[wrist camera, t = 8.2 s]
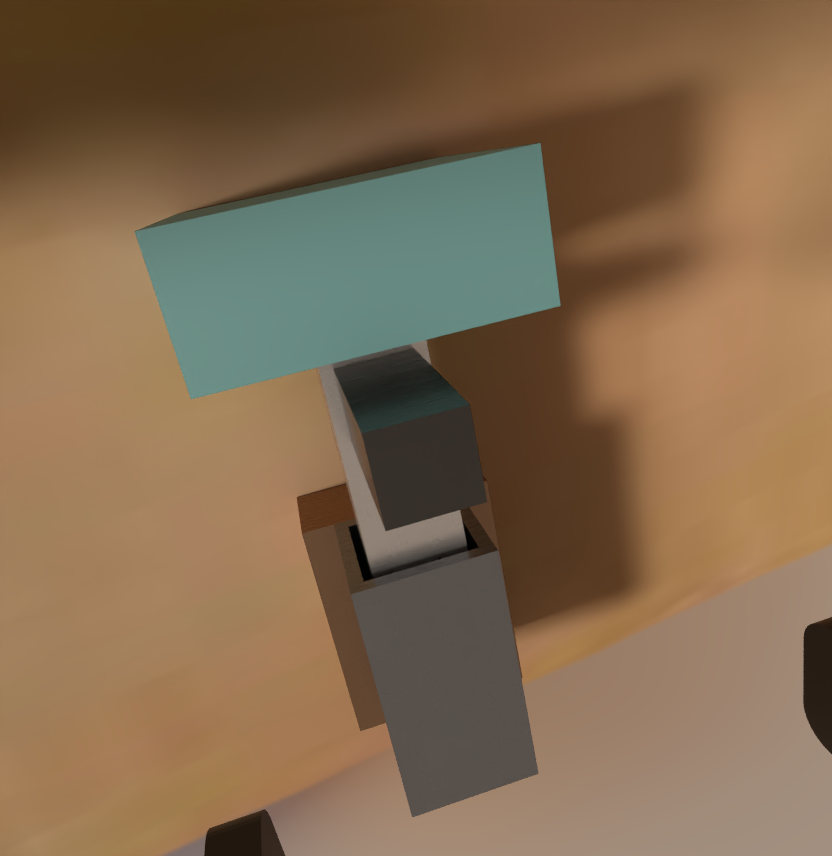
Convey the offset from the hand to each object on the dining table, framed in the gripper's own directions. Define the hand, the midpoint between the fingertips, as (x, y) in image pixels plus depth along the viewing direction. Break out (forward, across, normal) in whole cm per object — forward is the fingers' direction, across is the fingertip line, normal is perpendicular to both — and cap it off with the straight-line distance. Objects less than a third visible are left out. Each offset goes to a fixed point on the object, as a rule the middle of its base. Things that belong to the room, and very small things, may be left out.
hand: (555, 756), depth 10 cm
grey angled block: (+21, -1, +2) cm, 21 cm away
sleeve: (+26, -1, +13) cm, 29 cm away
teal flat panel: (+26, -1, -5) cm, 27 cm away
